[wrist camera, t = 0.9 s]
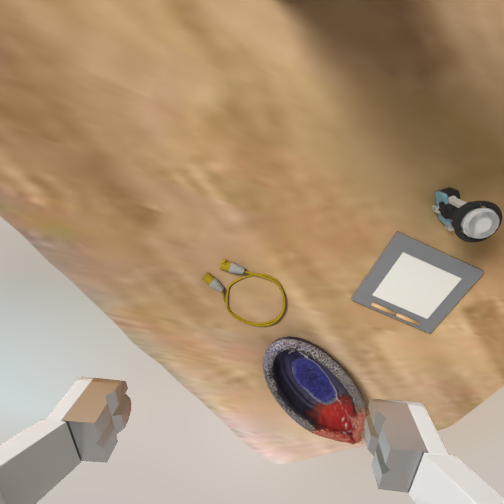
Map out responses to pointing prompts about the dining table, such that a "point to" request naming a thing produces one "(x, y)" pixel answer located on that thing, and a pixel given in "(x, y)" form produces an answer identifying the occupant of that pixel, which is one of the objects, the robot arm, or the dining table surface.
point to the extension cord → (237, 270)
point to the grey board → (415, 283)
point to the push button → (467, 216)
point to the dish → (314, 389)
